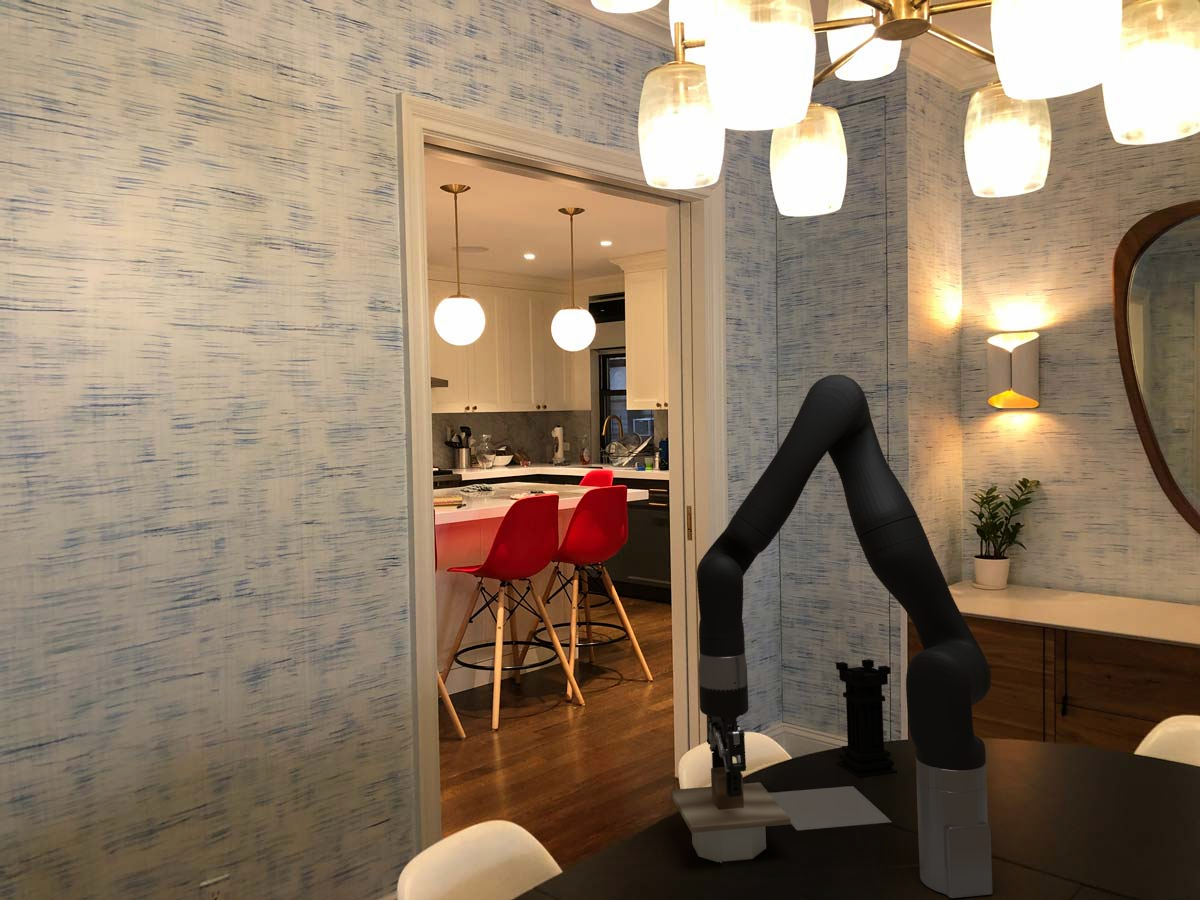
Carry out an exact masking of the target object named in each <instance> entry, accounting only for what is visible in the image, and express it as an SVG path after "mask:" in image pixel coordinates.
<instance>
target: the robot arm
mask: <svg viewBox="0 0 1200 900" xmlns="http://www.w3.org/2000/svg"><path fill="white" fill-rule="evenodd" d="M797 412H798V413H797V415H796V418H795V419H794V421H793V423H792V426H791V427H790V429H789V431H788V432H787V435H786V437H785V438H784V440H783V441H782V443H781V445H780V447H779V448H778V450H777V452H776V454H775V455H774V457H773V458H772V460H771V461H770V463H769V464H768V465H767V467H766V468H765V470H764V472H763V473H762V475H761V476H760V477H759V479H758V480H757V482H756V483H755V484H754V486H753V487H752V489H751V490H750V492H749V493H748V494H747V496H746V497H745V499H744V500H742V503H741V504H740V506H739V507H738V509H737V510H736V512H735V513H734V514H733V516H732V517H731V519H730V521H729V523H728V525H727V527H725V529H724V530H723V532H722V533H721V534H720V535H719V536H718V537H717V538H716V540H715V541H714V542H713V544H712V545H711V546H710V547H709V549H708V550H707V551H706V552H705V553H704V555H703V557H702V558H701V559H700V561H699V563H698V566H697V569H696V585H697V597H698V598H697V599H698V611H699V624H698V647H699V648H698V650H699V655H698V657H699V658H698V693H699V695H698V696H699V697H698V698H699V709H700V712H701V713H702V714H704V715H706V742H707V745H709V751H710V752H711V764H712V765H711V766H712V767H711V768H719V767H725V770H726V793H727V795H728V796H729V797H735V796H740V795H741V794H742V786H741V774H742V772H746V771H747V765H746V764H747V763H746V745H745V744H746V742H745V739H746V738H745V735H746V734H745V732H744V730H743V729H741V727H740V725H738V721H737V719H738V717H740V716H744V715H745V714H746V713H748V711H749V688H748V687H749V684H748V665H747V659H746V658H747V657H746V648H745V647H746V646H745V645H746V644H745V627H744V621H743V612H744V611H743V610H744V609H743V608H744V607H743V606H744V576H745V574H746V572H747V571H748V570H749V568H750V567H751V565H752V564H753V562H754V561H755V560H756V558H757V557H758V555H759V554H761V553H762V552H764V550H766V549H767V548H768V546H769V545H770V544H771V542H773V540H774V539H775V537H776V536H777V534H778V533H779V532H780V530H781V529H782V527H783V525H785V523H786V521H787V520H788V519H789V517H790V516H791V514H792V513H793V510H794V508H795V507H796V505H797V503H798V500H799V499H800V497H801V495H802V492H803V491H804V489H805V488H806V485H807V483H808V481H809V480H810V477H811V476H812V474H813V472H814V471H815V469H816V468H817V466H818V464H820V462H821V460H822V459H823V458H824V456H825V455H826V454H828V455H829V457H830V459H831V462H832V463H833V465H834V467H835V468H836V470H837V471H836V472H837V473H838V475H839V478H840V481H841V484H842V488H843V493H844V497H845V500H846V506H847V510H848V513H849V516H850V520H851V524H852V526H853V529H854V532H855V534H856V537H857V539H858V542H859V545H860V547H861V549H862V550H861V551H862V552H863V555H864V557H865V559H866V561H867V563H868V566H869V567H870V569H871V571H872V572H873V574H874V575H875V577H876V578H877V579H878V580H879V582H880V583H881V584H882V585H883V587H884V588H885V589H887V591H888V592H889V593H890V594H891V595H892V596H893V598H895V600H896V601H897V602H898V603H899V605H901V607H902V608H903V610H904V611H905V612H906V614H907V615H908V617H909V618H910V620H911V622H912V624H913V626H914V629H915V631H916V634H917V635H918V638H919V641H920V643H921V646H922V649H923V650H922V651H920V652H918V653H916V654H915V655H914V656H913V657H912V659H911V660H910V662H909V663H908V666H907V668H906V669H907V670H906V677H905V690H906V691H905V692H906V694H905V695H906V706H907V707H906V708H907V719H908V730H909V735H910V738H911V740H912V741H911V742H913V745H914V748H915V767H916V768H915V770H916V771H915V773H916V774H915V775H916V803H917V805H916V807H917V829H918V832H917V833H918V855H919V857H918V858H919V860H918V861H919V877H920V878H919V879H920V880H921V882H922V883H923V884H924V885H925V886H926V887H927V888H929V889H931V890H933V891H935V892H938V893H941V894H944V895H946V896H947V897H948V898H949V899H956V898H958V899H959V898H968V897H978V896H989V895H993V871H992V869H993V868H992V867H993V866H992V844H991V843H992V842H991V837H992V836H991V826H990V824H989V819H988V815H989V814H988V813H989V812H988V792H987V791H988V789H987V754H986V753H987V752H986V745H985V743H984V741H983V739H982V738H980V737H979V736H977V735H975V731H974V723H973V722H974V721H973V709H972V708H973V705H976V704H978V703H980V702H981V701H983V700H984V699H985V698H986V696H987V695H988V693H989V692H990V688H991V685H992V672H991V669H990V668H991V667H990V665H989V662H988V659H987V658H986V656H985V653H984V652H983V650H982V648H981V646H980V645H979V643H978V641H977V639H976V638H975V636H974V634H973V632H972V630H971V629H970V627H969V625H968V624H967V622H966V620H965V618H964V617H963V614H962V613H961V611H960V609H959V608H958V605H957V603H956V601H955V600H954V597H953V594H952V593H951V590H950V588H949V586H948V583H947V581H946V579H945V576H944V573H943V571H942V570H941V568H940V565H939V562H938V560H937V558H936V556H935V554H934V550H933V548H932V546H931V544H930V542H929V539H928V536H927V534H926V531H925V529H924V527H923V525H922V522H921V520H920V518H919V517H918V513H917V511H916V509H915V507H914V505H913V503H912V501H911V500H910V498H909V496H908V495H907V492H906V491H905V490H904V488H903V486H902V484H901V483H900V481H899V479H898V478H897V476H896V475H895V474H894V471H893V470H892V469H891V467H890V465H889V464H888V462H887V459H886V458H885V455H884V453H883V450H882V447H881V445H880V442H879V439H878V435H877V433H876V430H875V426H874V424H873V423H874V422H873V421H872V415H871V412H870V406H869V403H868V399H867V397H866V394H865V392H864V390H863V389H862V387H861V385H859V383H858V382H857V381H856V380H855V379H853V378H852V377H849V376H847V375H843V374H831V375H826V376H824V377H821V378H820V379H818V380H817V381H816V382H814V383H813V385H812V386H811V387H810V388H809V390H808V391H807V394H806V396H805V397H804V400H803V402H802V404H801V406H800V408H799V411H797ZM733 757H734V758H735V759H736V762H733V759H734V758H733Z"/></svg>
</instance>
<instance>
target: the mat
mask: <svg viewBox="0 0 1200 900" xmlns="http://www.w3.org/2000/svg"><path fill="white" fill-rule="evenodd" d="M768 793H769V794H770V795H771V796H772V797H773V799H774V800H775V801H776V802H777V803H778V805H779V806H780V807H781V808H782V809H783V811H784V812H785V813H786V814H787V815H788V817H789V818H790V822H791V824H790V825H791V826H792V827H794V829H795V830H796V831H808V830H817V829H818V830H819V829H828V828H829V829H830V828H841V827H851V826H863V825H864V826H865V825H875V824H887V823H892V821H891V820H890V819H889V817H887V816H886V815H885V814H884V813H883V812H882V811H881V810H880V809H879V808H877V806H875V805H874V804H873V803H872V802H871V801H870V800H869V799H868V798H866V797H865V796H864V795H863V793H861V792H860V791H859V790H858V789H857V788H856V787H854V785H851V786H839V787H826V788H812V789H811V788H810V789H803V790H802V789H801V790H789V791H778V792H768Z"/></svg>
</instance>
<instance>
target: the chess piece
mask: <svg viewBox="0 0 1200 900" xmlns="http://www.w3.org/2000/svg"><path fill="white" fill-rule="evenodd" d="M874 664H875V661H874V660H872V659H870V658H869V659H868V658H867V659H861V666H856V667H849V663H847V662H845V661H838V662H836V663H835V668H836V670H837V671H838V673H839V675H838V677H839V678H838V679H839V681H842V682H844V683H845V691H844V692H842V698H845V703H846V704H845V705H846V708H845V709H846V731H847V733H846V734H847V737H846V738H847V745H842V746H841V751H843V753H840V754H839V753H838V755H839V756H838V757H839V758H838V759H839V760H841V761H836V765H837V766H838V767H840V768H841V769H843V770H845V771H847V772H848V773H849V774H852V775H853V776H855V777H856V778H858V779H864V778H871V777H878V776H884V775H891V774H897V773H898V770H897V769H895V768H893V766H895V764H894V763H895V762H894V761H893V760H892V759H890V758H891V752H890V751H889V750H887V749H885V741H884V739H885V738H884V713H883V712H884V710H883V708H884V707H883V702H886V696H884V695H883V686H885V685H889V680H888V675H891V667H890V666H889V665H879V666H877V668H875V665H874Z"/></svg>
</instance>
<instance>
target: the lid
mask: <svg viewBox="0 0 1200 900" xmlns="http://www.w3.org/2000/svg"><path fill="white" fill-rule="evenodd" d="M743 775H744V774H743V773H741V786H742V794H741V795H740V796H735V797H729V796H728V795H727V793H726V770H725V767H719V768H712V767H711V768H710V781H711V786H704V787H703V786H702V787H701V786H699V787H691V788H688V787H687V788H678V789H670V797H671V798H672V800H673V801H674V803H675V805H676V807H677V809H678V811H679V813H680V814H681V816H682V818H683V820H684V823H685V824H686V825H687V827H688V829H689V831H690V832H691V834H692V833H698V832H709V831H720V830H731V829H742V828H754V827H765V828H766V827H776V826H785V825H786V826H787V825H792V824H791V822H790V818H789V817H788V815H787V814H786V813H785V812H784V811H783V809H782V808H781V807H780V806H779V805H778V803H777V802H776V801H775V800H774V799H773V797H772V796H771V795H770V794H769V793H770V792H768V790H767V789H766V788H765V787H764V786H763V784H762V783H761V782H751V783H744V777H743Z"/></svg>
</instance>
